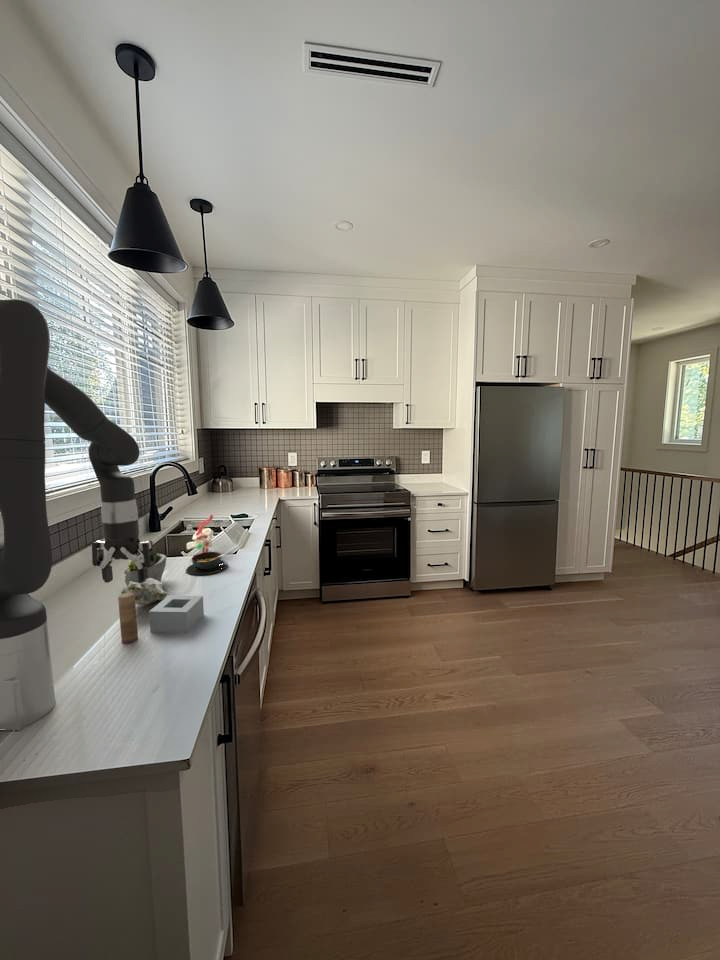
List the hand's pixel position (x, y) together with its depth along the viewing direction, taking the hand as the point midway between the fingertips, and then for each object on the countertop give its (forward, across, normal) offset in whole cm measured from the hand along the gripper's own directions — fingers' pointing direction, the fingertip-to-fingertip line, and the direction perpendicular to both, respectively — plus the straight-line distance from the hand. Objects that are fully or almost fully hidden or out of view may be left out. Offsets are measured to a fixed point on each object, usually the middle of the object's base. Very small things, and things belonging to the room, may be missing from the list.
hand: (125, 581), depth 98 cm
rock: (+16, -7, +20) cm, 26 cm away
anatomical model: (+17, -10, +66) cm, 68 cm away
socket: (+16, +8, +9) cm, 20 cm away
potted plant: (+16, -16, +35) cm, 42 cm away
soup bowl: (+17, -2, +51) cm, 54 cm away
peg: (+16, 0, 0) cm, 16 cm away
